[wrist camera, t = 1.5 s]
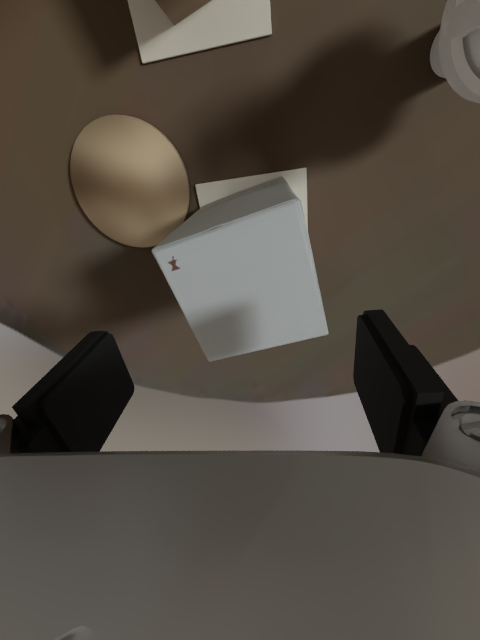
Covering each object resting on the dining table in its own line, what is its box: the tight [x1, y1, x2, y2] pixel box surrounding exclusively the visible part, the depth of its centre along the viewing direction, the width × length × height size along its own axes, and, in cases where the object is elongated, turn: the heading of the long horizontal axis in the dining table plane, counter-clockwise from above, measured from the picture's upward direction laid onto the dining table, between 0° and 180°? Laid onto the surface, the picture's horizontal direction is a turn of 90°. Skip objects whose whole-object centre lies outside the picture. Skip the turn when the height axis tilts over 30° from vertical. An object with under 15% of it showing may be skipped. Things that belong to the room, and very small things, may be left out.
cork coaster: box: [70, 115, 190, 247], centre depth 24 cm, size 10×10×1 cm
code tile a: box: [195, 168, 308, 231], centre depth 25 cm, size 9×9×1 cm
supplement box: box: [151, 176, 328, 361], centre depth 19 cm, size 7×7×13 cm
